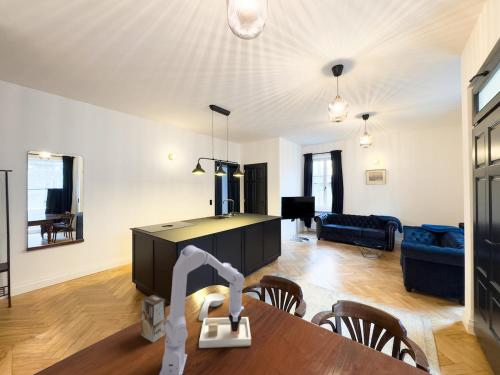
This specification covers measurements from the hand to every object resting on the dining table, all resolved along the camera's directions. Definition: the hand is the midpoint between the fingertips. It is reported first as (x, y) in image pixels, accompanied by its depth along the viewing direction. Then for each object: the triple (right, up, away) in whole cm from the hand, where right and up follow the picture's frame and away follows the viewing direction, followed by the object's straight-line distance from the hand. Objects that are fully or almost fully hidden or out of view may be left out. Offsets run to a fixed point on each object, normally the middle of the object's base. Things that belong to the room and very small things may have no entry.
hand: (234, 327), depth 99 cm
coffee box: (-37, -3, -1) cm, 37 cm away
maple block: (-10, -3, 0) cm, 10 cm away
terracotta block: (0, -2, 0) cm, 2 cm away
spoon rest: (-15, -4, +21) cm, 26 cm away
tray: (-4, -3, +1) cm, 5 cm away
